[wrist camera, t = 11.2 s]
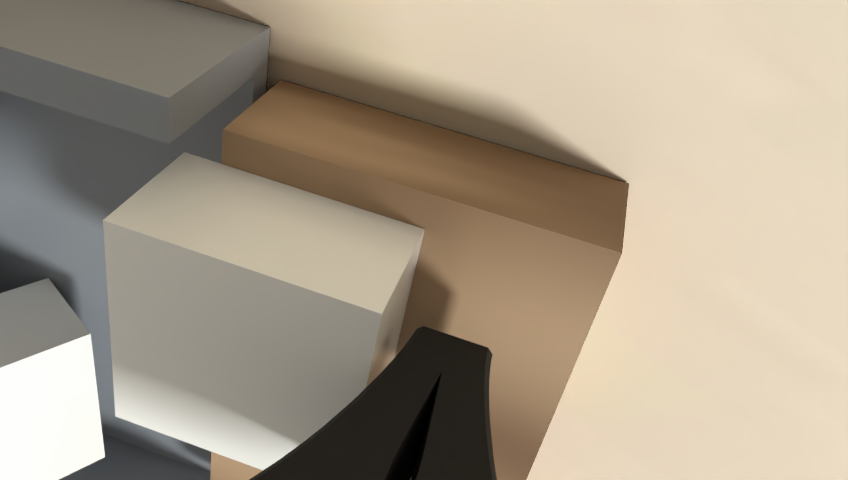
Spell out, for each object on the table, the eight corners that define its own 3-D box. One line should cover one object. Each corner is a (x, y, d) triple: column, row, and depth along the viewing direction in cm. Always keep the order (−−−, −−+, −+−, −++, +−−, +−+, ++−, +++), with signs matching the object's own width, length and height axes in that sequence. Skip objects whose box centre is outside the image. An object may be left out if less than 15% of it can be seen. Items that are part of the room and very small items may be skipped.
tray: (238, 481, 22) (173, 590, 20) (5, 395, 23) (-90, 488, 20) (270, 27, 14) (168, 98, 12) (-88, -77, 15) (-266, -36, 12)
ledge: (482, 547, 21) (462, 628, 19) (249, 462, 22) (208, 532, 20) (628, 184, 14) (621, 253, 12) (280, 80, 15) (222, 129, 13)
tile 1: (382, 405, 16) (342, 499, 14) (182, 335, 16) (115, 416, 14) (425, 229, 13) (382, 313, 11) (184, 151, 13) (102, 220, 12)
